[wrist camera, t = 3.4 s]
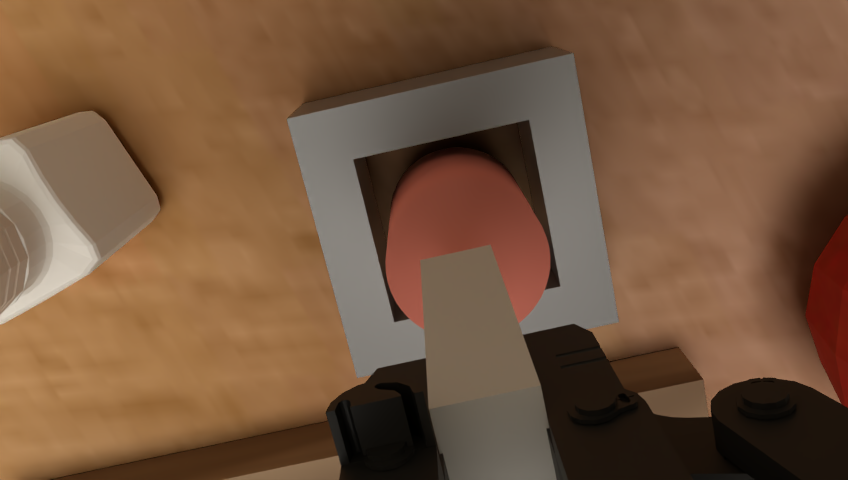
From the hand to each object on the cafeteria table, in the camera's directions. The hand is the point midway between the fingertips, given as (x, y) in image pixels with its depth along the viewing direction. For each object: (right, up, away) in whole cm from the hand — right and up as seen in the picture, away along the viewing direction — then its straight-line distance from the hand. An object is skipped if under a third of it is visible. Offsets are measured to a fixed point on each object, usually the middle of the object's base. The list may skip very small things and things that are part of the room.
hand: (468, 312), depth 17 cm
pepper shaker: (-12, +3, +9) cm, 15 cm away
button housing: (0, +3, +10) cm, 10 cm away
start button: (0, +2, +7) cm, 8 cm away
